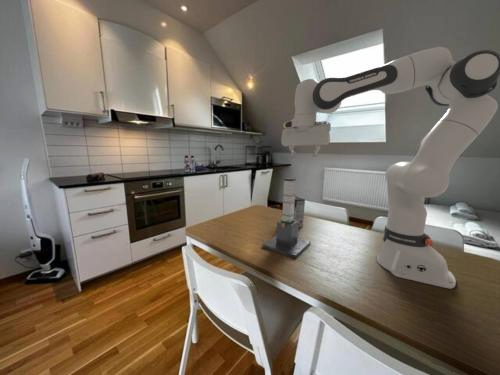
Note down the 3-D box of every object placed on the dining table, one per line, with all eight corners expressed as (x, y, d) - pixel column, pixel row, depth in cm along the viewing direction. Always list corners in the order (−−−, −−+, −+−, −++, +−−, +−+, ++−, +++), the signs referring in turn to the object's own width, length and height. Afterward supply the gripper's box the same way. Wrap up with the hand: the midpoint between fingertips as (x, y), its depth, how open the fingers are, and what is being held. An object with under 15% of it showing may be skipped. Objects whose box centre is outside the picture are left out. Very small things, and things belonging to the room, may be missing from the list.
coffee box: (285, 222, 122) (286, 196, 119) (293, 221, 125) (295, 195, 122) (294, 228, 114) (295, 200, 111) (303, 226, 116) (305, 199, 114)
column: (293, 229, 92) (296, 178, 87) (289, 231, 88) (292, 179, 84) (285, 226, 94) (287, 177, 90) (281, 229, 91) (283, 178, 87)
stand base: (310, 244, 94) (312, 220, 92) (295, 258, 82) (297, 230, 79) (279, 235, 104) (280, 213, 102) (262, 247, 91) (262, 221, 89)
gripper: (333, 121, 81) (331, 156, 84) (286, 125, 93) (286, 156, 96) (328, 119, 76) (326, 156, 79) (279, 124, 88) (279, 156, 91)
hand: (304, 156), depth 87 cm, fingers open, 8 cm apart
